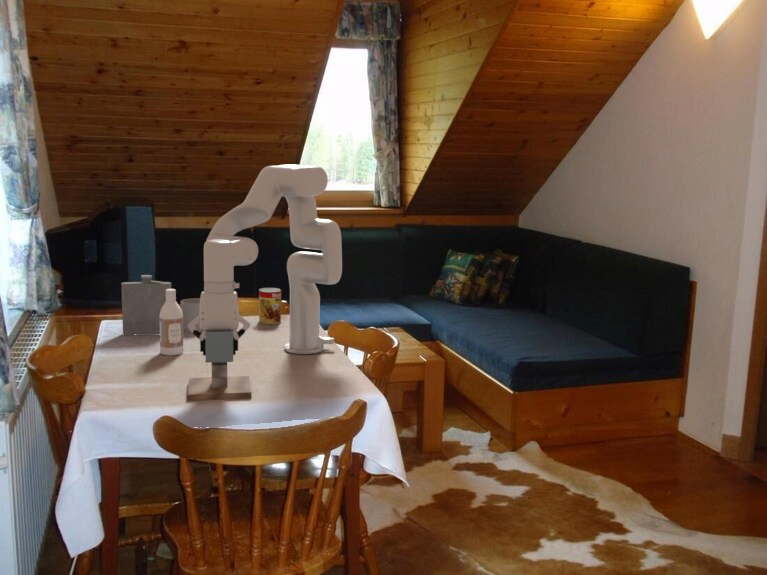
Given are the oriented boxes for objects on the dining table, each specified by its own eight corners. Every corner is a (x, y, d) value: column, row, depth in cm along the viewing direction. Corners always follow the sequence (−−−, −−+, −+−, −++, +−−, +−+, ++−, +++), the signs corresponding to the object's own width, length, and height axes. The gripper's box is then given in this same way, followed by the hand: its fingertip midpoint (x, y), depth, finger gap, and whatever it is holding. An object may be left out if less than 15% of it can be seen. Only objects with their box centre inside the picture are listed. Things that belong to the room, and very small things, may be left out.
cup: (211, 328, 267) (210, 301, 266) (193, 333, 261) (193, 304, 259) (193, 325, 272) (193, 297, 270) (176, 329, 265) (175, 301, 263)
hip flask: (122, 335, 255) (120, 276, 251) (123, 332, 258) (122, 274, 255) (171, 334, 258) (170, 276, 254) (172, 331, 262) (171, 274, 258)
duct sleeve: (232, 354, 205) (232, 325, 204) (233, 361, 199) (233, 332, 197) (205, 355, 204) (205, 326, 202) (205, 362, 197) (205, 332, 195)
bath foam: (164, 357, 231) (162, 292, 228) (157, 351, 237) (155, 288, 233) (186, 354, 235) (185, 290, 231) (179, 348, 241) (178, 286, 237)
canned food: (279, 324, 277) (279, 292, 275) (257, 323, 277) (257, 291, 275) (282, 319, 285) (282, 288, 282) (261, 318, 285) (261, 287, 282)
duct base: (248, 381, 211) (248, 355, 210) (251, 397, 198) (251, 370, 196) (189, 383, 208) (188, 356, 206) (187, 400, 194) (187, 372, 193)
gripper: (252, 284, 203) (251, 349, 206) (184, 285, 199) (185, 350, 203) (253, 290, 196) (253, 356, 199) (183, 290, 192) (184, 358, 195)
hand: (219, 353), depth 201 cm, fingers closed on duct sleeve, 7 cm apart
